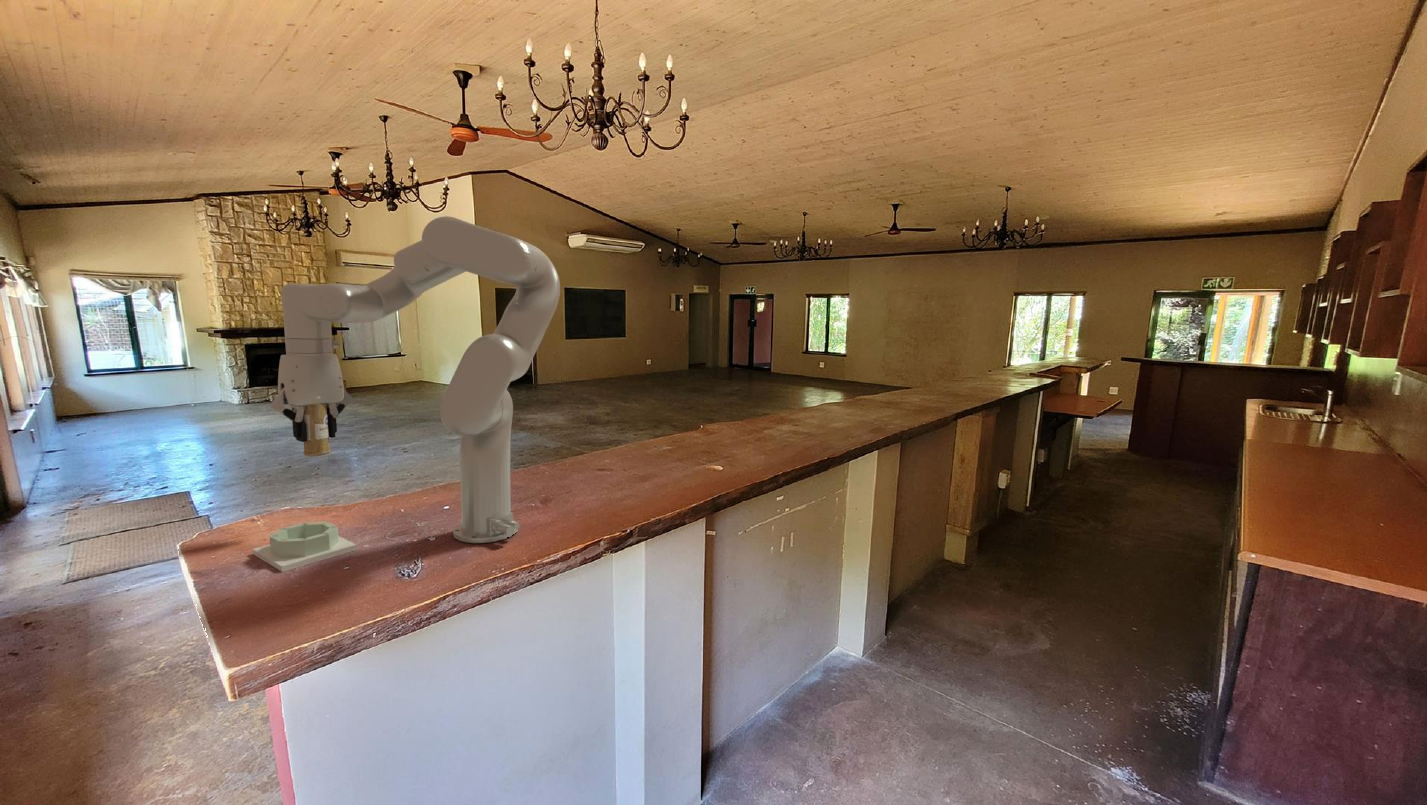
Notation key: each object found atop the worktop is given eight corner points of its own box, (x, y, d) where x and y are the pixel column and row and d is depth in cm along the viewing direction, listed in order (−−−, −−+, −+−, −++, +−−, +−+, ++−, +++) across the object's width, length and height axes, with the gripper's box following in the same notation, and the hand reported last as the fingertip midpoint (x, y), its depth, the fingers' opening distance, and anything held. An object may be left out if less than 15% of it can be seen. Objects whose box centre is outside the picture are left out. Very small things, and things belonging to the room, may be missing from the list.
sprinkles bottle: (330, 455, 113) (326, 389, 112) (302, 457, 111) (297, 390, 109) (330, 450, 117) (326, 386, 115) (303, 453, 115) (298, 387, 113)
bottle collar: (357, 549, 106) (356, 529, 106) (282, 571, 96) (280, 549, 96) (326, 534, 113) (325, 515, 112) (253, 554, 103) (251, 533, 102)
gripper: (346, 345, 120) (351, 430, 123) (249, 347, 106) (257, 443, 108) (364, 347, 116) (369, 434, 119) (266, 349, 102) (274, 448, 105)
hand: (316, 437), depth 114 cm, fingers closed on sprinkles bottle, 4 cm apart
